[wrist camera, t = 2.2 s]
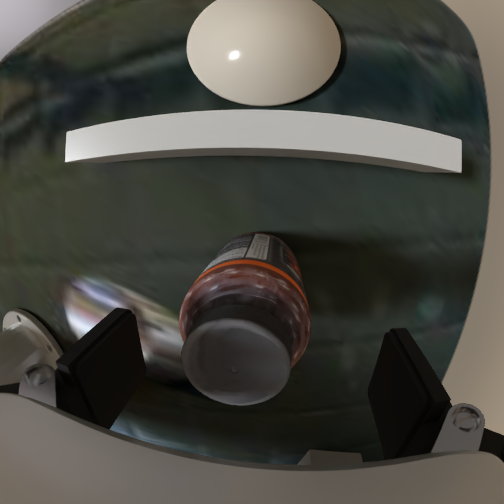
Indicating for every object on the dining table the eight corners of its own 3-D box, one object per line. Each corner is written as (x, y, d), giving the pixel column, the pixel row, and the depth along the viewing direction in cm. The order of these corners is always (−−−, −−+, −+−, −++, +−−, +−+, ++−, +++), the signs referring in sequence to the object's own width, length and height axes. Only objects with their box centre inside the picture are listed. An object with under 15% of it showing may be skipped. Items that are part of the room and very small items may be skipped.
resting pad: (342, 112, 17) (343, 110, 16) (183, 109, 18) (181, 108, 17) (333, -5, 14) (334, -8, 13) (195, -5, 15) (194, -8, 14)
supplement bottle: (308, 296, 20) (332, 409, 9) (232, 316, 21) (194, 430, 10) (285, 218, 19) (296, 272, 8) (204, 243, 20) (127, 316, 9)
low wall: (423, 172, 17) (461, 172, 12) (105, 163, 19) (65, 162, 14) (423, 145, 17) (461, 139, 12) (106, 138, 18) (66, 132, 14)
